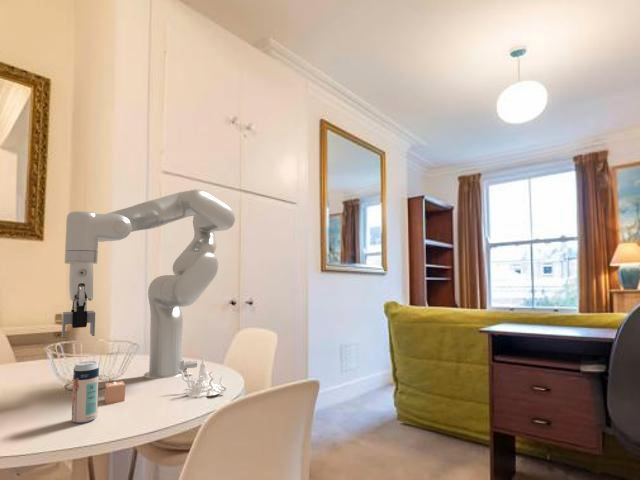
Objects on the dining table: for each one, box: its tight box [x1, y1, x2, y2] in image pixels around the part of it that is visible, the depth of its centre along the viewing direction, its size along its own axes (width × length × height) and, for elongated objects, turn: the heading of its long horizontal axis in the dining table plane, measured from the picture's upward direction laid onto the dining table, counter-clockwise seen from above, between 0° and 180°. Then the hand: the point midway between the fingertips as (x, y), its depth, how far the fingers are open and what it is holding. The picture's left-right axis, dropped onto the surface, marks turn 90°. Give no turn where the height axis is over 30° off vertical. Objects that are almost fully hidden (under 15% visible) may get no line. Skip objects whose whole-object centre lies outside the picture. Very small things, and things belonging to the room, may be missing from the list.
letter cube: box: [104, 380, 126, 405], centre depth 101 cm, size 4×4×4 cm
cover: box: [61, 310, 96, 339], centre depth 106 cm, size 7×7×6 cm
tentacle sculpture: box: [178, 356, 227, 398], centre depth 108 cm, size 9×12×9 cm
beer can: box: [71, 361, 100, 424], centre depth 88 cm, size 5×5×12 cm
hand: (78, 325), depth 106 cm, fingers closed on cover, 7 cm apart
